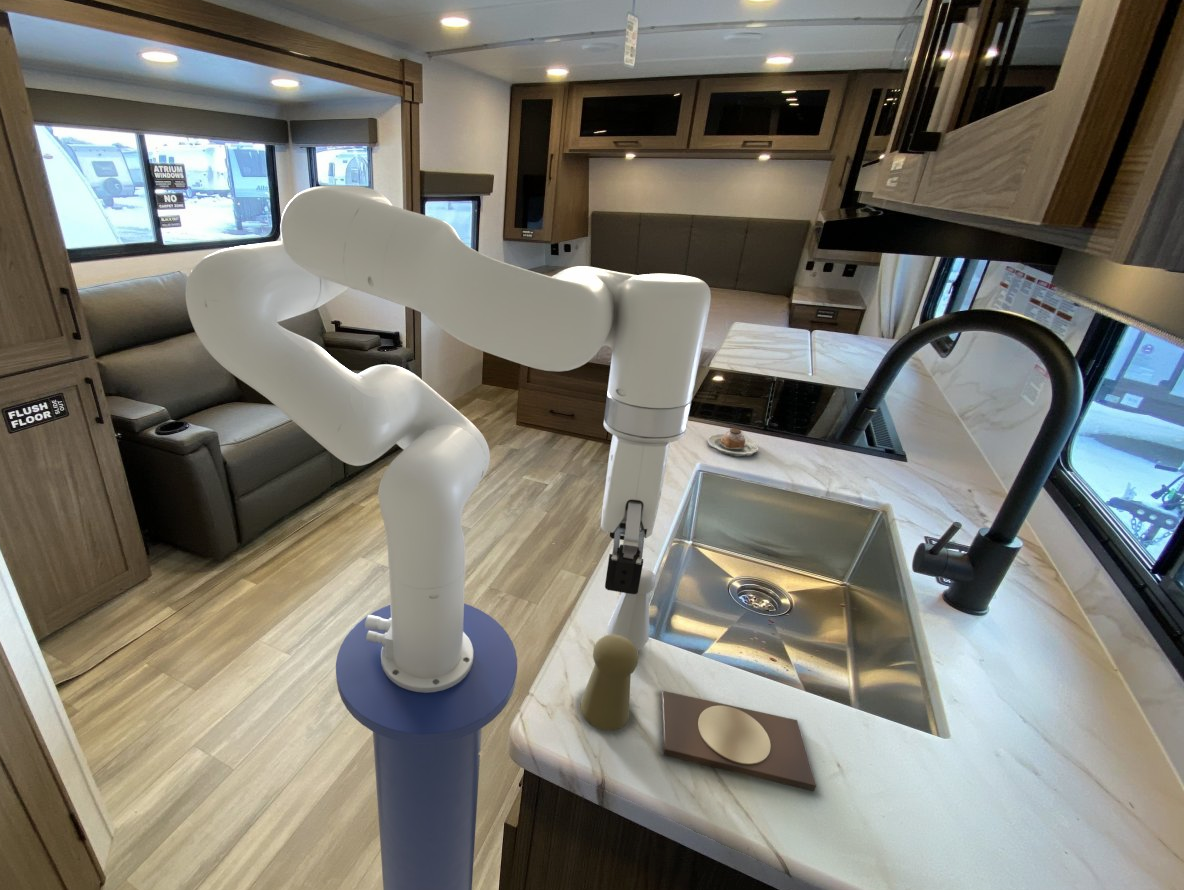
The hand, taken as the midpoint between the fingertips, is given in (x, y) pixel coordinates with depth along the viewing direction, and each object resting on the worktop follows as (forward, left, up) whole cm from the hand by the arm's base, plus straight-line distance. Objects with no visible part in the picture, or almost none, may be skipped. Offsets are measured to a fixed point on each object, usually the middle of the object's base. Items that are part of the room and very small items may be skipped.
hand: (622, 562), depth 62 cm
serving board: (+16, 0, -23) cm, 28 cm away
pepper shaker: (+1, 0, -23) cm, 23 cm away
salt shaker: (+4, +13, -23) cm, 26 cm away
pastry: (+28, +93, -23) cm, 100 cm away
